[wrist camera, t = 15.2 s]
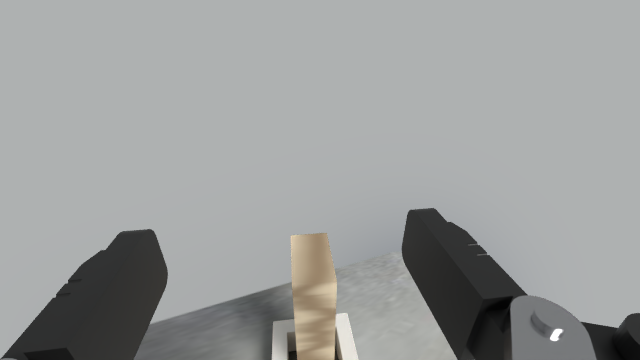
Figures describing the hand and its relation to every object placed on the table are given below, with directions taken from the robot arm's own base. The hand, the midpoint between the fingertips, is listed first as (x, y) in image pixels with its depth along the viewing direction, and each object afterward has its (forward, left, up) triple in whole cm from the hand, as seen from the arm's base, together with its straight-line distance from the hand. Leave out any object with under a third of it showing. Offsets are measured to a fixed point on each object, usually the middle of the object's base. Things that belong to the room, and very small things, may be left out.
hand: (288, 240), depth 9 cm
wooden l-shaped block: (+2, +14, -32) cm, 35 cm away
